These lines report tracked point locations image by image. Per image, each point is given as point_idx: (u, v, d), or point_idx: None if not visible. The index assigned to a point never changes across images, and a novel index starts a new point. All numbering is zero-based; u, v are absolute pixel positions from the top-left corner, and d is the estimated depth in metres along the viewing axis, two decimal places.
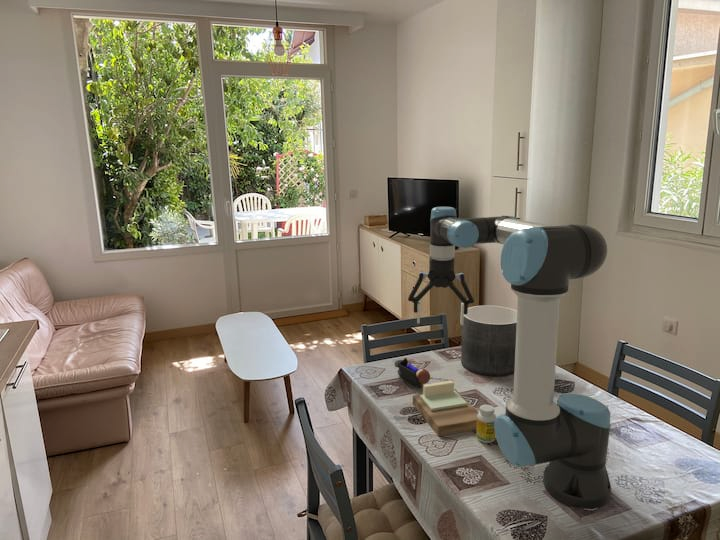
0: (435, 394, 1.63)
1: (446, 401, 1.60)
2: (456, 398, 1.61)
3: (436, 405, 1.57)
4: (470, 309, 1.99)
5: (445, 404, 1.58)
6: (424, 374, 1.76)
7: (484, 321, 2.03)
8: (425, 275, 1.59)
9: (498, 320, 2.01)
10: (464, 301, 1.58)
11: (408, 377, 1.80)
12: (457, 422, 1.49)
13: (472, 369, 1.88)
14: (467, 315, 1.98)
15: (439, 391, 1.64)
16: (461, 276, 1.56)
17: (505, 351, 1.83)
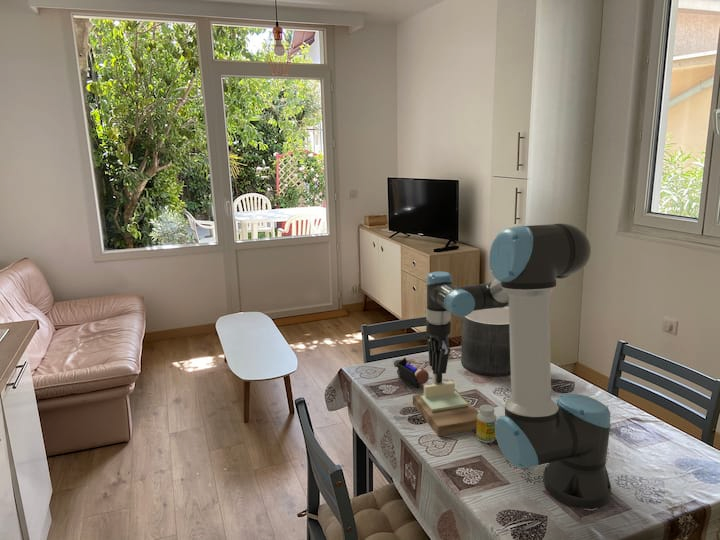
0: (436, 395, 1.63)
1: (447, 402, 1.59)
2: (457, 399, 1.61)
3: (437, 406, 1.57)
4: None
5: (446, 405, 1.57)
6: (422, 373, 1.76)
7: (484, 321, 2.03)
8: (431, 337, 1.66)
9: (498, 320, 2.01)
10: (435, 369, 1.62)
11: (407, 377, 1.80)
12: (457, 422, 1.49)
13: (472, 369, 1.88)
14: (467, 315, 1.98)
15: (440, 392, 1.63)
16: (441, 350, 1.56)
17: (505, 351, 1.83)
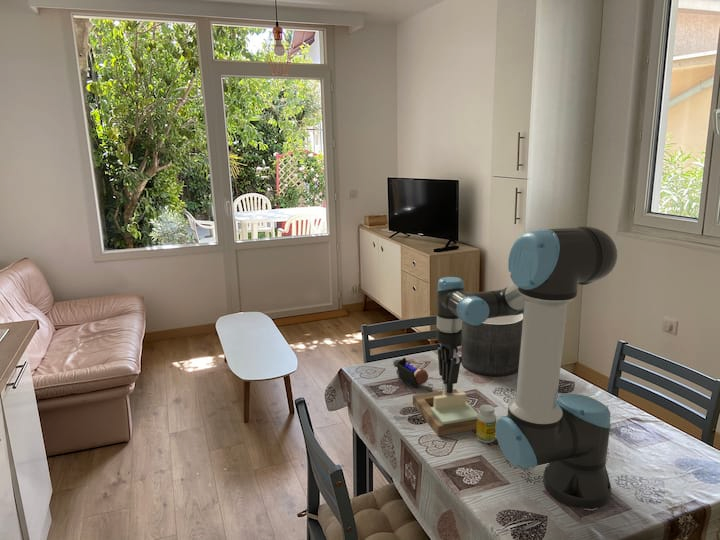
0: (446, 406, 1.56)
1: (458, 414, 1.52)
2: (468, 411, 1.54)
3: (448, 418, 1.50)
4: None
5: (457, 417, 1.50)
6: (422, 373, 1.76)
7: (484, 321, 2.03)
8: (441, 345, 1.58)
9: (498, 320, 2.01)
10: (446, 379, 1.55)
11: (406, 377, 1.80)
12: (457, 422, 1.49)
13: (472, 369, 1.88)
14: None
15: (450, 403, 1.56)
16: (453, 359, 1.49)
17: (505, 351, 1.83)
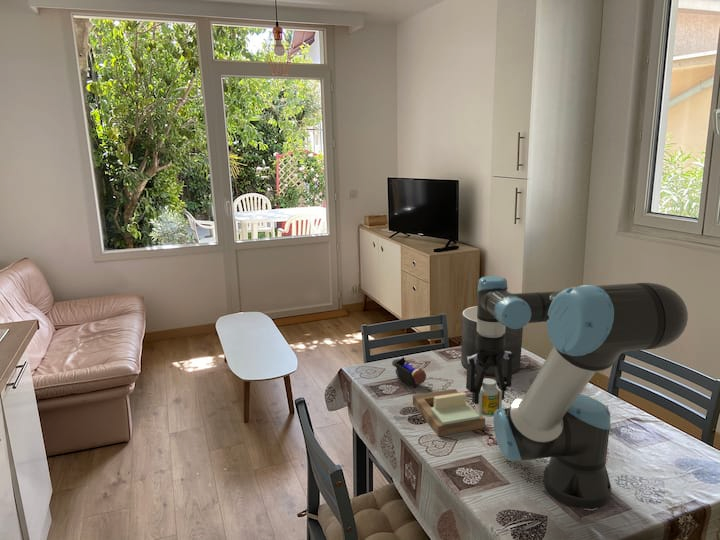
0: (446, 406, 1.56)
1: (458, 414, 1.52)
2: (468, 411, 1.54)
3: (448, 418, 1.50)
4: (470, 309, 1.99)
5: (457, 417, 1.50)
6: (419, 373, 1.76)
7: None
8: (474, 358, 1.39)
9: None
10: (503, 385, 1.42)
11: (404, 376, 1.80)
12: (457, 422, 1.49)
13: None
14: (467, 315, 1.98)
15: (450, 403, 1.56)
16: (511, 355, 1.41)
17: None
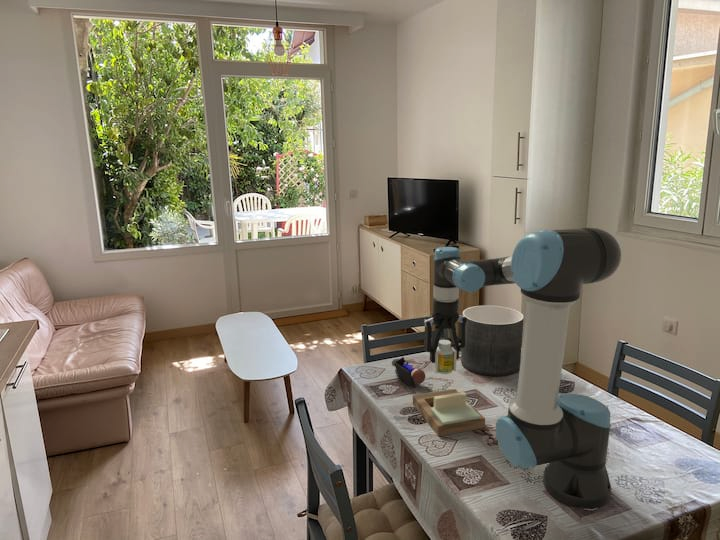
0: (446, 406, 1.56)
1: (458, 414, 1.52)
2: (468, 411, 1.54)
3: (448, 418, 1.50)
4: (470, 309, 1.99)
5: (457, 417, 1.50)
6: (419, 373, 1.76)
7: (484, 321, 2.03)
8: (431, 321, 1.53)
9: (498, 320, 2.01)
10: (457, 346, 1.57)
11: (404, 376, 1.81)
12: (457, 422, 1.49)
13: (472, 369, 1.88)
14: (467, 315, 1.98)
15: (450, 403, 1.56)
16: (464, 319, 1.55)
17: (505, 351, 1.83)
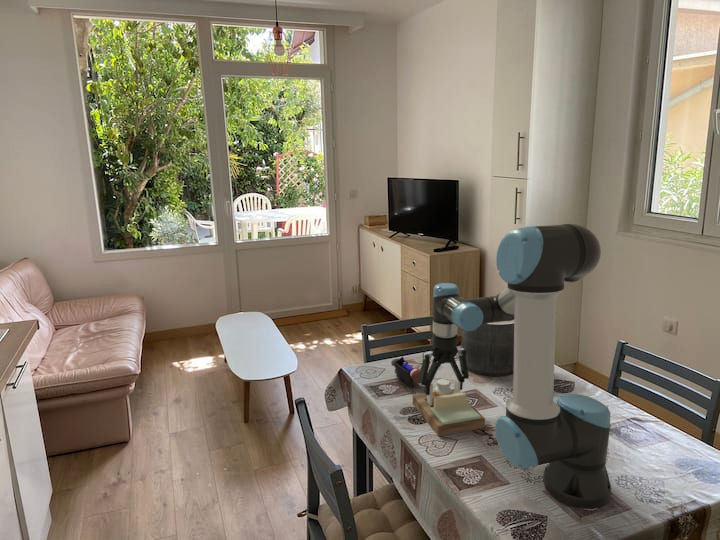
0: (446, 406, 1.56)
1: (458, 414, 1.52)
2: (468, 411, 1.54)
3: (448, 418, 1.50)
4: None
5: (457, 417, 1.50)
6: (418, 373, 1.76)
7: None
8: (430, 355, 1.56)
9: None
10: (460, 377, 1.60)
11: (403, 376, 1.81)
12: (457, 422, 1.49)
13: (472, 369, 1.88)
14: None
15: (450, 403, 1.56)
16: (464, 352, 1.58)
17: (505, 351, 1.83)
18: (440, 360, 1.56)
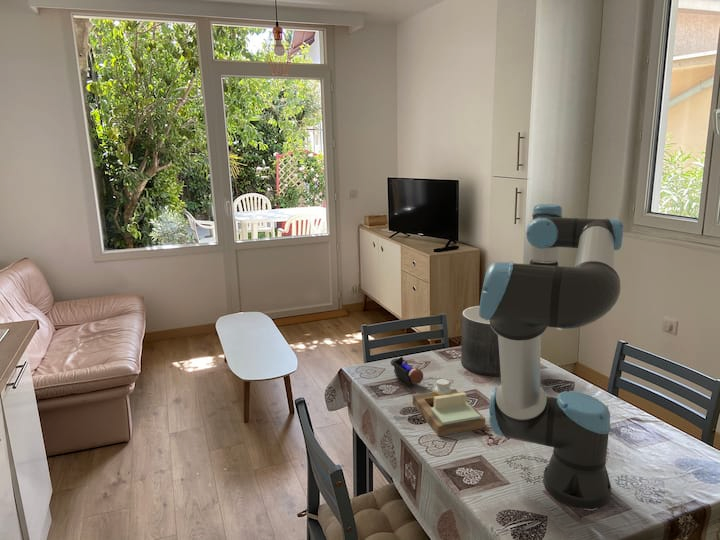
0: (446, 406, 1.56)
1: (458, 414, 1.52)
2: (468, 411, 1.54)
3: (448, 418, 1.50)
4: (470, 309, 1.99)
5: (457, 417, 1.50)
6: (416, 373, 1.76)
7: (484, 321, 2.03)
8: None
9: None
10: None
11: (402, 376, 1.81)
12: (457, 422, 1.49)
13: (472, 369, 1.88)
14: (467, 315, 1.98)
15: (450, 403, 1.56)
16: None
17: None
18: None
